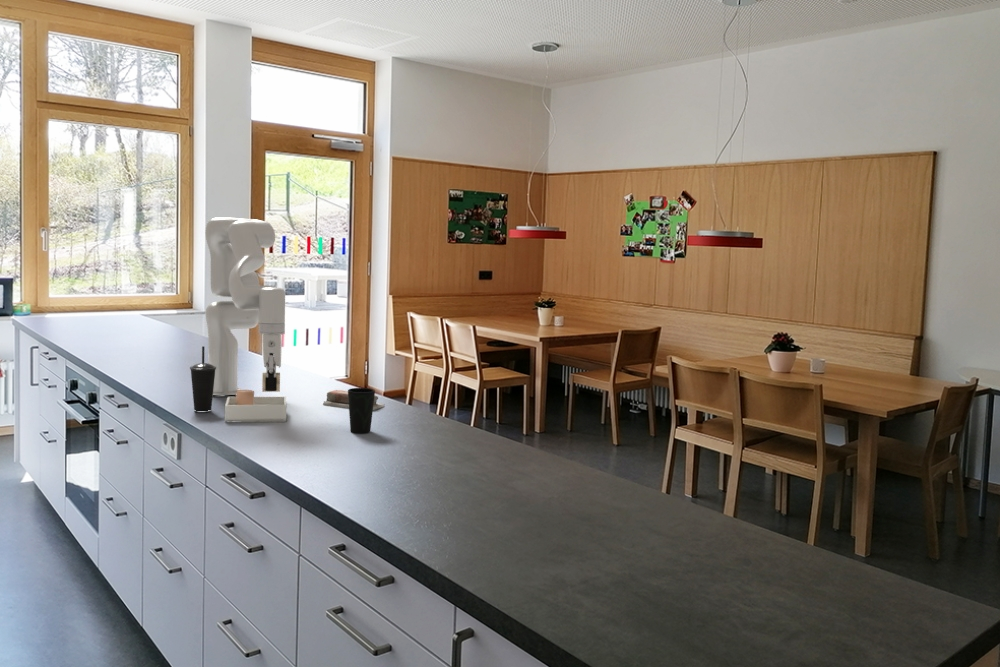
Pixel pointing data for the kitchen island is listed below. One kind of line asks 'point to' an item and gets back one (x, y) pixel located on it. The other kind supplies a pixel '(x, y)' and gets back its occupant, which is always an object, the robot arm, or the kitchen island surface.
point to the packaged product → (344, 400)
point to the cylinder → (245, 397)
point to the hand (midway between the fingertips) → (271, 388)
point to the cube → (277, 382)
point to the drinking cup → (202, 384)
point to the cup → (360, 409)
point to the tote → (257, 410)
